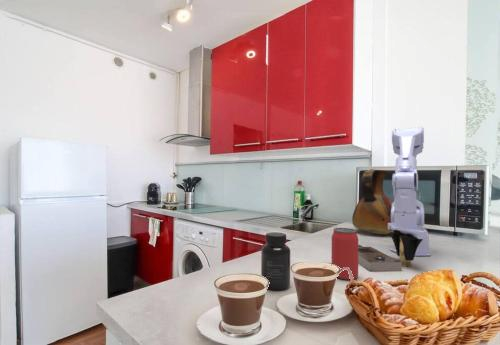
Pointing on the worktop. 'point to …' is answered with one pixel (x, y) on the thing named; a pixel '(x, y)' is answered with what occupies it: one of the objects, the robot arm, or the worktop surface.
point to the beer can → (345, 251)
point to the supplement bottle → (276, 261)
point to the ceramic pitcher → (373, 204)
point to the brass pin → (402, 257)
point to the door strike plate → (377, 260)
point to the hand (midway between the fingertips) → (405, 258)
